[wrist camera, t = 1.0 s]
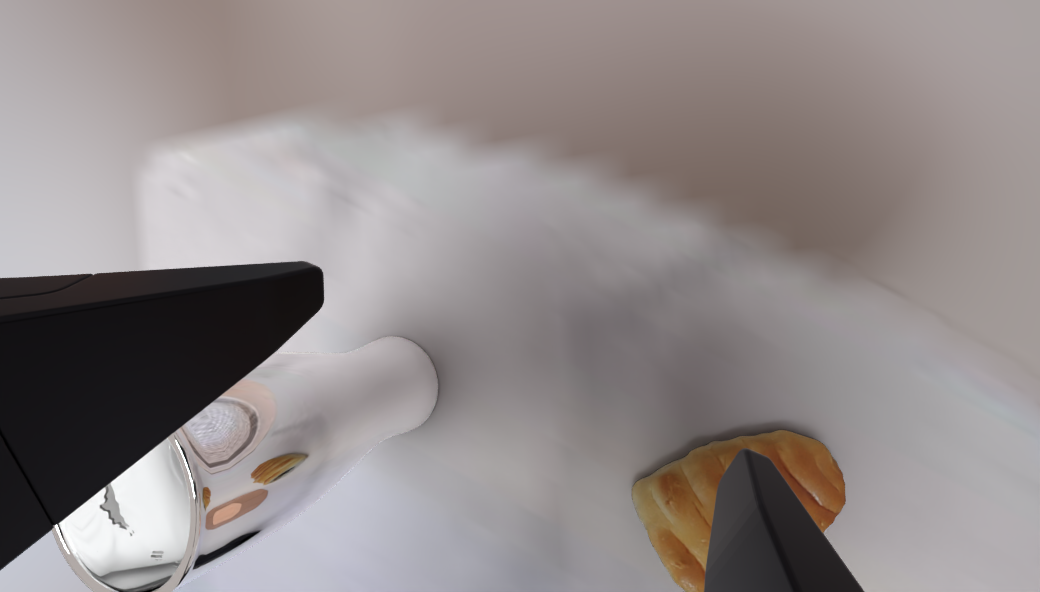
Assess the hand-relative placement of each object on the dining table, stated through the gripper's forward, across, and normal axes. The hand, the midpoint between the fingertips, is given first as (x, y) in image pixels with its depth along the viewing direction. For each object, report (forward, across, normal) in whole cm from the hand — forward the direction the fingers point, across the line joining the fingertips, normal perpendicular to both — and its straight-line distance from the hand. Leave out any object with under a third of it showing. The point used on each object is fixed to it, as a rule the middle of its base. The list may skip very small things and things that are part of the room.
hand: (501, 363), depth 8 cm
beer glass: (+11, +10, +14) cm, 21 cm away
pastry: (+12, -10, +12) cm, 20 cm away
